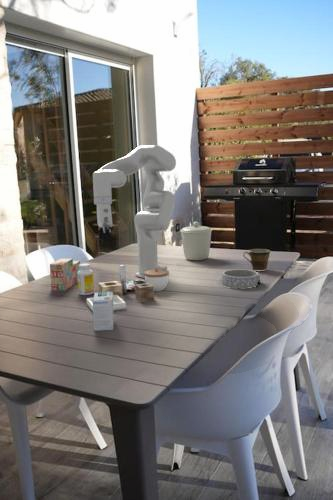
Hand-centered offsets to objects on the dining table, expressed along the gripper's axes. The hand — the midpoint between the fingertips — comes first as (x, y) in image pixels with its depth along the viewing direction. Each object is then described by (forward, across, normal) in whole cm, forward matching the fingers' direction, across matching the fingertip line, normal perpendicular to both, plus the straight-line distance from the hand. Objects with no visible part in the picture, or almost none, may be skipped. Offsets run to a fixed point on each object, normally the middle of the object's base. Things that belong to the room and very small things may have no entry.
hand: (105, 240), depth 218 cm
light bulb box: (+23, -45, +10) cm, 52 cm away
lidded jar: (+23, -6, -21) cm, 31 cm away
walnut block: (+23, -19, -12) cm, 32 cm away
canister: (+22, +48, -61) cm, 81 cm away
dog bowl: (+23, -13, -58) cm, 64 cm away
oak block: (+23, -10, +1) cm, 25 cm away
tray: (+23, -23, +5) cm, 33 cm away
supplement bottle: (+23, 0, +9) cm, 25 cm away
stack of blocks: (+23, +20, +15) cm, 34 cm away
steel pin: (+23, -5, -6) cm, 24 cm away
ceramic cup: (+22, +8, -77) cm, 81 cm away
